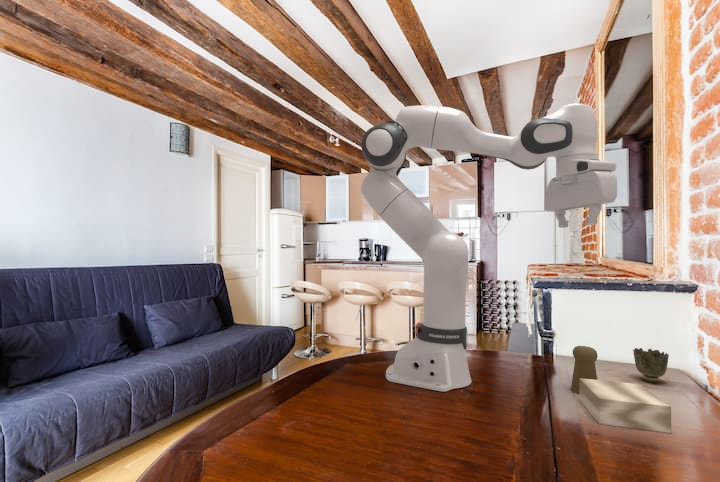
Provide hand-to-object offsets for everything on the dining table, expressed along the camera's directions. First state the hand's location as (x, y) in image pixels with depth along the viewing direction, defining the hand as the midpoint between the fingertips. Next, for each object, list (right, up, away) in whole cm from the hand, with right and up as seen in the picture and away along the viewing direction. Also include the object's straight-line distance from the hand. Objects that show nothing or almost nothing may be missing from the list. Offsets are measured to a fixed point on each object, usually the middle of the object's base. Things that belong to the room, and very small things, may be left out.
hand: (576, 226), depth 87 cm
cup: (+25, -42, +8) cm, 49 cm away
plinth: (+2, -41, -12) cm, 42 cm away
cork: (+2, -41, 0) cm, 41 cm away
